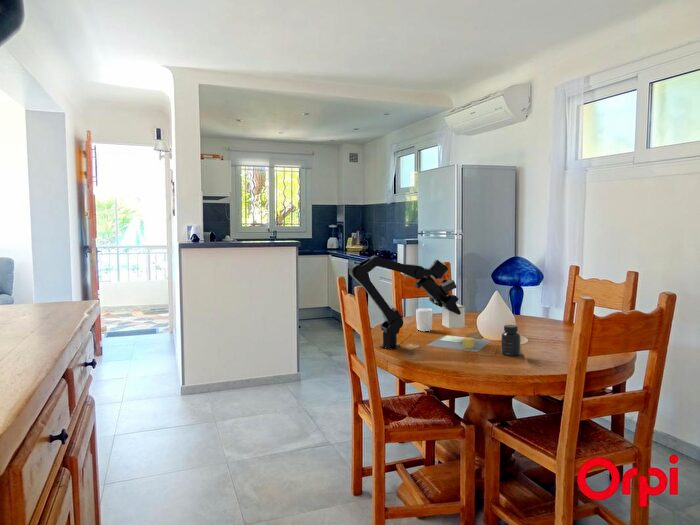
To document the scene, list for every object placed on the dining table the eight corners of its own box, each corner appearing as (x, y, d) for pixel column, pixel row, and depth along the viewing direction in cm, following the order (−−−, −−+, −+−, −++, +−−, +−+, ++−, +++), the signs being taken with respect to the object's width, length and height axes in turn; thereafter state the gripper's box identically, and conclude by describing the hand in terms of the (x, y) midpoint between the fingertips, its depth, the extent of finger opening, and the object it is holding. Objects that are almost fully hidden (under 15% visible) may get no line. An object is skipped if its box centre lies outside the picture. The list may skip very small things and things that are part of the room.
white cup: (413, 331, 228) (413, 310, 227) (419, 328, 235) (419, 307, 234) (429, 332, 224) (429, 311, 224) (434, 329, 231) (434, 308, 231)
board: (476, 354, 186) (476, 342, 185) (426, 348, 197) (426, 336, 197) (491, 343, 203) (491, 332, 202) (444, 338, 214) (444, 327, 213)
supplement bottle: (505, 353, 187) (505, 323, 186) (523, 356, 182) (523, 325, 181) (498, 357, 181) (498, 326, 180) (516, 360, 177) (516, 328, 176)
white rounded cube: (464, 327, 203) (464, 306, 202) (449, 328, 202) (449, 307, 201) (457, 324, 210) (457, 303, 209) (442, 325, 209) (442, 304, 208)
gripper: (454, 276, 194) (479, 301, 197) (436, 271, 212) (459, 295, 216) (435, 296, 193) (461, 322, 196) (419, 290, 211) (442, 313, 214)
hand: (456, 312), depth 206 cm, fingers closed on white rounded cube, 7 cm apart
